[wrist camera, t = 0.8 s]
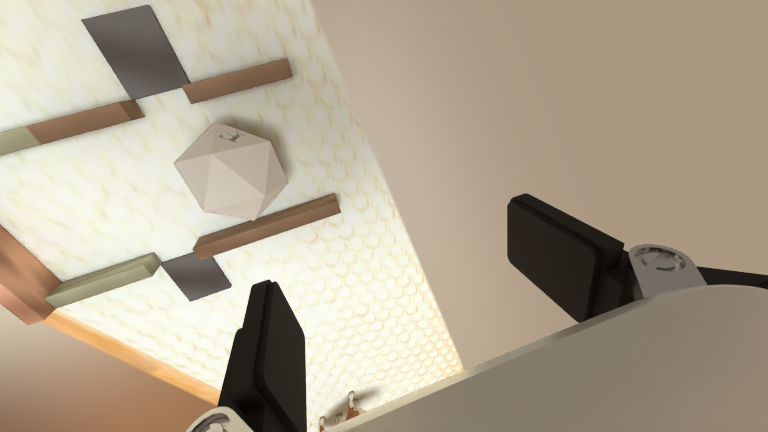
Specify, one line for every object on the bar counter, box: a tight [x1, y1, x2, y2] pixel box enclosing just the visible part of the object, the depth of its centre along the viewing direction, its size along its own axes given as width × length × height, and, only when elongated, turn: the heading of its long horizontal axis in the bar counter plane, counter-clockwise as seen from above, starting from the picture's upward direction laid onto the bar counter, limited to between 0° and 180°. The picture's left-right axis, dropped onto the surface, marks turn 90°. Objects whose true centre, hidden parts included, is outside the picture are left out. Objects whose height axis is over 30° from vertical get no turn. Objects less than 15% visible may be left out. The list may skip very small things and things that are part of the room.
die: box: [173, 122, 288, 221], centre depth 27 cm, size 8×9×10 cm
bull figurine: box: [319, 391, 366, 432], centre depth 49 cm, size 4×13×8 cm, turn 128°
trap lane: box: [0, 5, 341, 325], centre depth 27 cm, size 28×32×4 cm
